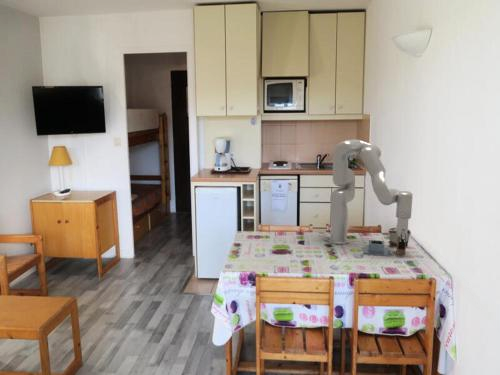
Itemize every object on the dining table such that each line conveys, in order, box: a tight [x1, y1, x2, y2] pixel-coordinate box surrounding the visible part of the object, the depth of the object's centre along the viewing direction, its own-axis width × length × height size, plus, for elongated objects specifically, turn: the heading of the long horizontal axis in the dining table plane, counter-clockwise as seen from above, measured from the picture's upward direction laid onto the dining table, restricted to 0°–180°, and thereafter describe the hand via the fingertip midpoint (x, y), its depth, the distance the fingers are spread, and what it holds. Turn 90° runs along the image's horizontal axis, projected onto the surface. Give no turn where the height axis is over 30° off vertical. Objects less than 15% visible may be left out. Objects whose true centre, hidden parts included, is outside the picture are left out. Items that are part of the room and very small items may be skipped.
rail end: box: [396, 235, 407, 256], centre depth 234 cm, size 4×4×10 cm
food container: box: [387, 227, 412, 248], centre depth 248 cm, size 12×6×10 cm, turn 84°
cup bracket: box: [362, 239, 391, 257], centre depth 238 cm, size 14×12×5 cm
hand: (401, 247), depth 234 cm, fingers closed on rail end, 4 cm apart
